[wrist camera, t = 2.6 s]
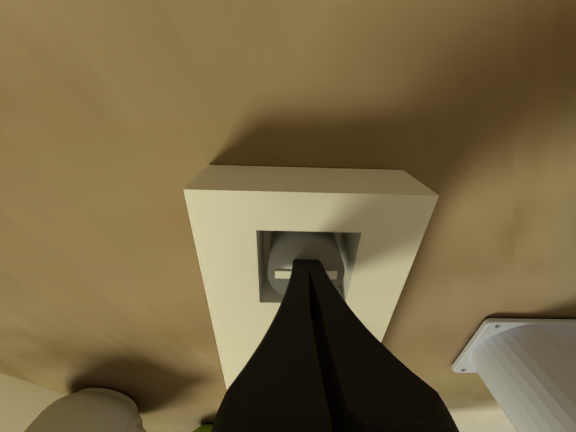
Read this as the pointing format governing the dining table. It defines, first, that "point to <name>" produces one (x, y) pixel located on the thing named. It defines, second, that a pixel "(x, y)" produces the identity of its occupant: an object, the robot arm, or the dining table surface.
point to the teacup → (90, 413)
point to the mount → (301, 217)
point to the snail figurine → (204, 428)
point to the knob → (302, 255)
